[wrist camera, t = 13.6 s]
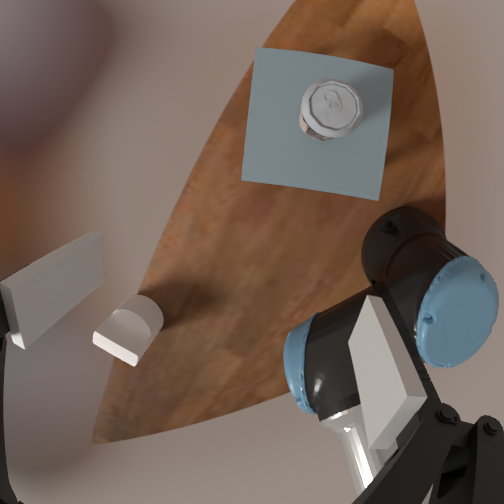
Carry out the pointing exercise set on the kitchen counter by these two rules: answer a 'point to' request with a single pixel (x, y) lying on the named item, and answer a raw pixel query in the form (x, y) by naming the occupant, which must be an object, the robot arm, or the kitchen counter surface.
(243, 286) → the kitchen counter surface
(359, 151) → the pale blue square-topped fixture
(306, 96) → the beer can
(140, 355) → the base with upright slab
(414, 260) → the robot arm
